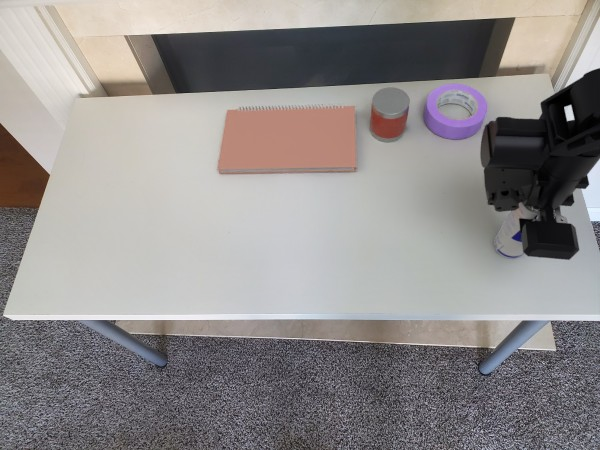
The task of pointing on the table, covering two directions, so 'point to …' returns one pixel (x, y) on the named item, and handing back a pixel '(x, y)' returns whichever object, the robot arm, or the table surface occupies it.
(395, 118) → the food tin
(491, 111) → the table surface
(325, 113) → the notebook
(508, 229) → the beverage can
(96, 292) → the table surface
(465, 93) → the tape roll
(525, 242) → the robot arm
